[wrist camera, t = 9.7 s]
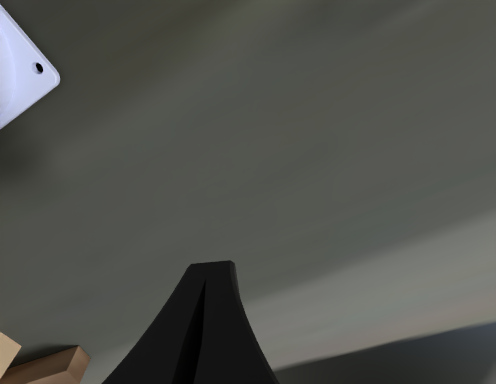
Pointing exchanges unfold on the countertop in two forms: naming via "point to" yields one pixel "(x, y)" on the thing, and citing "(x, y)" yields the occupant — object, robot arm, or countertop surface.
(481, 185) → the countertop surface
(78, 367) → the cradle
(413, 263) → the countertop surface
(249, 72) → the countertop surface
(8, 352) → the carton
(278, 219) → the countertop surface
